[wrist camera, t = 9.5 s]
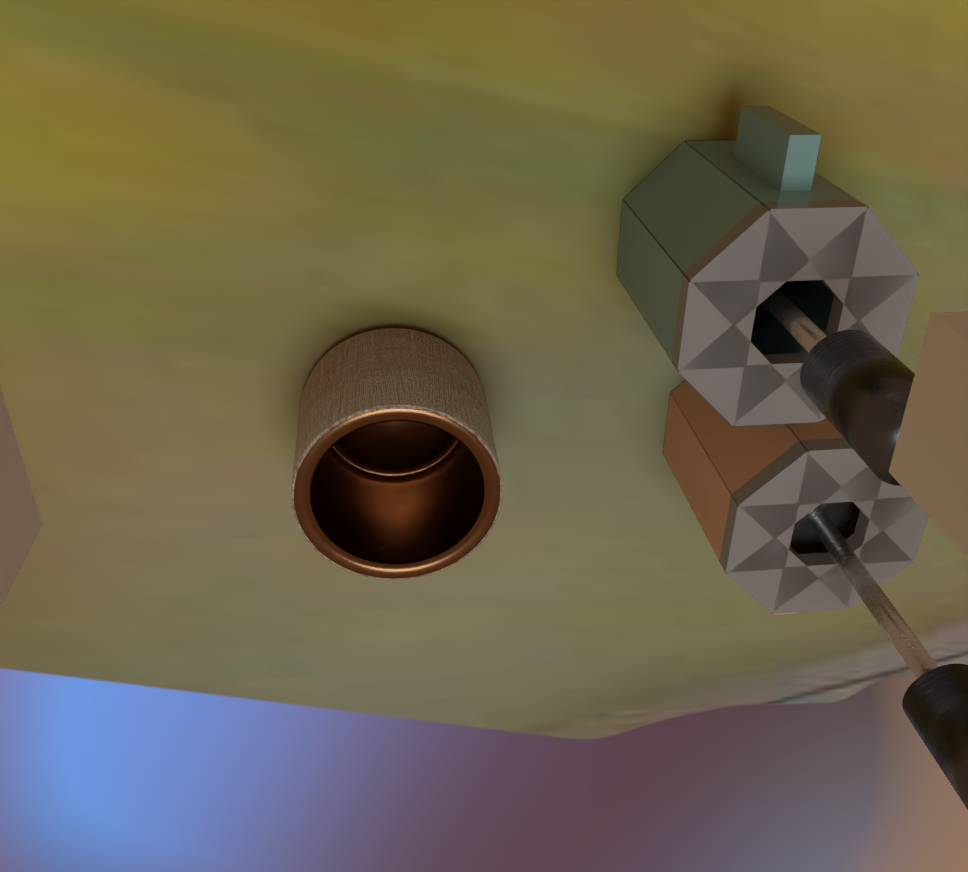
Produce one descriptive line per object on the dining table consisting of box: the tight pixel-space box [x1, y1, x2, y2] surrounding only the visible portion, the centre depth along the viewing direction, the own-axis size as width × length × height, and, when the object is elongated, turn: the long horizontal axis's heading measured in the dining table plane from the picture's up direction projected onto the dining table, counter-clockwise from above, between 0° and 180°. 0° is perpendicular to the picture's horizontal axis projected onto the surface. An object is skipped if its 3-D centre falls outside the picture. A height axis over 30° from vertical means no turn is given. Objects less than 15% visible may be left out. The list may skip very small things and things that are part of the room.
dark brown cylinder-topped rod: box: [755, 281, 915, 486], centre depth 41 cm, size 8×8×20 cm
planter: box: [291, 328, 503, 580], centre depth 51 cm, size 11×11×10 cm
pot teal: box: [616, 106, 919, 426], centre depth 46 cm, size 13×10×12 cm
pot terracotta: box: [663, 380, 928, 615], centre depth 53 cm, size 13×10×12 cm
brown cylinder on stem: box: [790, 502, 968, 809], centre depth 42 cm, size 8×8×20 cm
